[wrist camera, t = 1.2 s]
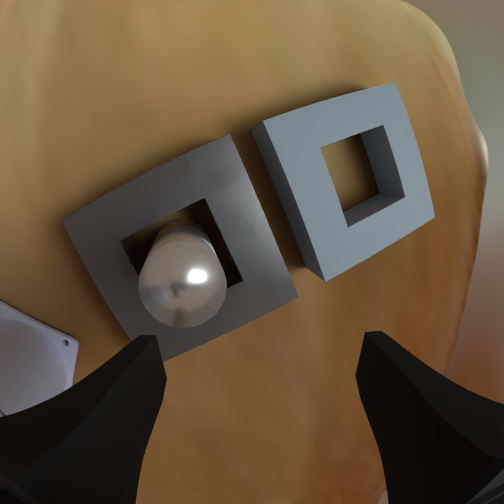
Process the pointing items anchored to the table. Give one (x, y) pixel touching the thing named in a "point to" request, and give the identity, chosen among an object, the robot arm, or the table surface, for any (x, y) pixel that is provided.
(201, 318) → the aluminium peg
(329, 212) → the block
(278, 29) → the table surface
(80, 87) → the table surface
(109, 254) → the charcoal stand
